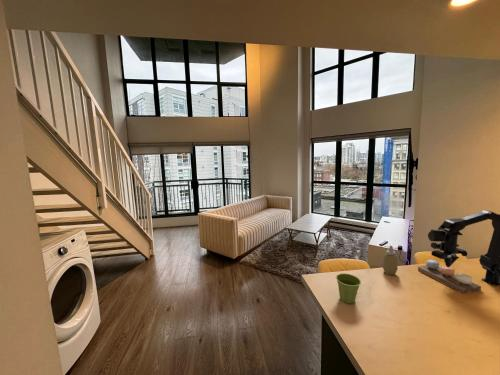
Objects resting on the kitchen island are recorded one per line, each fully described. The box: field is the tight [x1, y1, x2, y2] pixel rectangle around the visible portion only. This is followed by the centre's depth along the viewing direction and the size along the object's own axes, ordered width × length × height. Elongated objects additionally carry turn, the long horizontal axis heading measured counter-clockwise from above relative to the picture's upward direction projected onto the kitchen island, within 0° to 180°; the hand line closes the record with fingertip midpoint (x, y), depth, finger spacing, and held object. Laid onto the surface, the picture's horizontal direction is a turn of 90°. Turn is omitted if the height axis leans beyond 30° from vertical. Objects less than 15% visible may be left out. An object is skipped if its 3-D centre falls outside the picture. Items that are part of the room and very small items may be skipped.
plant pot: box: [335, 272, 362, 304], centre depth 110 cm, size 12×12×11 cm
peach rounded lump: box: [440, 265, 456, 277], centre depth 125 cm, size 6×6×6 cm
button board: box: [417, 265, 482, 294], centre depth 126 cm, size 12×25×2 cm, turn 11°
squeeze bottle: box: [382, 245, 399, 276], centre depth 134 cm, size 8×8×18 cm
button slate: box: [425, 259, 440, 270], centre depth 134 cm, size 6×6×6 cm
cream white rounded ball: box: [456, 272, 473, 285], centre depth 117 cm, size 6×6×6 cm
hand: (447, 267), depth 125 cm, fingers closed
